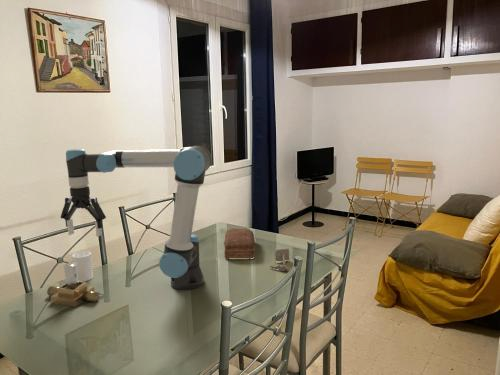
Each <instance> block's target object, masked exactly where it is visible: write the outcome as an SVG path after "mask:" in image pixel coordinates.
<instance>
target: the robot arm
mask: <svg viewBox="0 0 500 375" xmlns="http://www.w3.org/2000/svg"><path fill="white" fill-rule="evenodd" d="M212 161H213V160H212V155H211V152H210V151H209V150H208V149H207V148H206V147H204V146H201V145H193V146H186V147H180V148H179V149H149V150H148V149H145V150H143V149H142V150H138V149H135V150H121V149H113V150H109V151H107V152H105V151H104V152H101V153H89V154H88V153H86V150H85V149H82V148H74V149H68V150H66V152H65V162H66V167H67V175H68V185H69V187H70V188H69V192H70V196H67V197H65V198H64V205H63V207H62V211H61V215H60V219H64V221H65V227H66V228H67V234H68V236H71V235H73V234H75V229H74V220H73V218H72V216H73V215H74V214H75V212H76V210H77V209H83V210H84V209H85V210H86V211H87V212H88V213H89V214H90V215H91V217H93V219H94V220H95V221H94V226H95V236H96V237H100V236H102V234H103V232H102V228H103V220H105V219H107V216H106V215H105V213H104V211H103V209H102V207H101V206H100V204H99V202H98V198H97V197H95V196H94V197H92V198H91V196H90V194H91V192H90V186H89V184H90V182H89V174H88V173H105V174H106V173H112V172H114V171H115V169H116V168H117V169H118V168H119V169H121V168H173V170H174V173H175V174H174V181H175V182H176V183H177V186H176V194H175V200H174V207H173V215H172V219H171V225H170V226H171V228H170V235H169V238H168V239H166V240H165V243H164V248H163V253H162V255H161V256H160V258H159V262H158V263H159V264H158V266H159V269H160V271H161V272H162V274H164V275H165V276H167V277H168V278H170V285H171V287H172V288H173V289H176V290H182V291H183V290H186V291H189V290H194V289H196V288H197V289H198V288H199V287H201V286H202V285H203V284H204V283H205V278H204V277H205V276H204V274H203V272H202V268H201V265H200V241H199V236H198V235H197V234H193V227H194V221H195V214H196V209H197V203H198V202H197V201H198V196H199V189H200V187H202V185H204V182H205V177H206V172H207V171H208V170H209V169H210V167H211V165H212ZM71 204H72V205H71Z"/></svg>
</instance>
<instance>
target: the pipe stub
mask: <svg viewBox="0 0 500 375" xmlns="http://www.w3.org/2000/svg"><path fill="white" fill-rule="evenodd" d="M63 270H64V278H65V283H66V288H67V289H75V288H77V287H78V286H79V283H78V274H77V265H76V263H73V262H72V263H66V264H64V265H63Z"/></svg>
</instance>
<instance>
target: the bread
mask: <svg viewBox="0 0 500 375" xmlns="http://www.w3.org/2000/svg"><path fill="white" fill-rule="evenodd" d="M255 244H256V240H255V234H254V231H253V230H251V229H250V228H229V229H228V230H226V231H225V235H224V241H223V246H224V250H223V251H224V252H223V253H224V258H225V260H226V259H229V258H253V257H254V258H255V255H256V250H255V248H256V247H255V246H256V245H255Z"/></svg>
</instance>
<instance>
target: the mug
mask: <svg viewBox="0 0 500 375" xmlns="http://www.w3.org/2000/svg"><path fill="white" fill-rule="evenodd" d="M69 263H76V265H77V274H78V281H82V282H87V281H90V280H92V279H93V278H94V274H93V272H94V271H93V261H92V253H91V251H86V250H83V251H77V252H75V253H73V254H72V260H70V261H69Z"/></svg>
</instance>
